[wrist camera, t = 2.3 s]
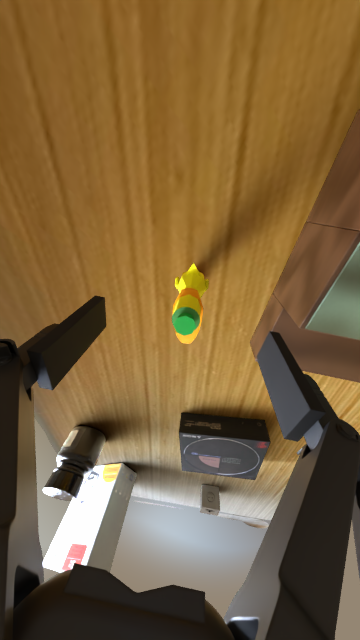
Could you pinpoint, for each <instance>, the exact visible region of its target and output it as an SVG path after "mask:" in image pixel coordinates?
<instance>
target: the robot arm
mask: <svg viewBox="0 0 360 640" xmlns="http://www.w3.org/2000/svg"><path fill="white" fill-rule="evenodd" d="M105 327H106V312H105V297H100V296H94V297H93V298H92V299H90V300H89V301H88V302H87V303H85V304H84V305H83V306H82V307H80V308H79V309H78V310H77V311H75V312H74V313H73V314H72V315H70V316H69V317H68V318H66V319H65V320H64V321H63V322H61V323H60V324H52V325H50V326H47V327H45V328H44V329H43V330H41V331H40V332H39V333H37V334H36V335H35V336H34V337H32V338H31V339H29V340H28V341H27V342H25V343H24V344H23V345H21V346H20V347H19V348H17V347H16V344H15V342H14V341H13V340H11V339H0V640H335V630H336V623H337V617H338V610H339V603H340V596H341V589H342V582H343V575H344V568H345V561H346V554H347V547H348V540H349V533H350V526H351V520H352V522H353V531H354V539H355V546H356V554H357V562H358V570H359V577H360V435H359V433H358V432H357V431H356V430H355V429H354V428H353V427H352V426H351V425H349V424H348V423H347V422H345V421H343V420H341V419H339V418H338V417H337V415H336V413H335V412H334V410H333V409H332V407H331V406H330V404H329V402H328V401H327V399H326V398H325V397H324V394H323V393H322V391H320V388H319V387H318V385H317V383H316V382H315V381H314V380H313V379H312V378H311V377H310V376H309V375H307V374H303V372H302V370H301V369H300V367H299V365H298V363H297V362H296V360H295V358H294V357H293V355H292V353H291V352H290V350H289V348H288V347H287V345H286V343H285V341H284V340H283V338H282V336H281V335H280V333H278V332H273V331H269V333H268V335H267V337H266V339H265V341H264V343H263V345H262V347H261V349H260V351H259V353H258V355H257V360H258V363H259V366H260V369H261V372H262V375H263V378H264V381H265V384H266V387H267V390H268V393H269V396H270V399H271V402H272V405H273V408H274V410H275V413H276V416H277V419H278V422H279V425H280V428H281V431H282V434H283V437H284V439H288V440H293V441H297V442H298V441H299V440H300V439H301V438H302V437H303V436H304V438H305V440H306V442H307V443H306V444H305V445H304V446H303V447H302V448H301V449H300V450H299V451H298V452H297V454H298V455H299V454H300V456H299V458H298V460H297V463H296V465H295V467H294V469H293V472H292V474H291V476H290V479H289V481H288V483H287V486H286V488H285V490H284V493H283V495H282V497H281V500H280V502H279V504H278V506H277V509H276V511H275V513H274V516H273V518H272V520H271V523H270V525H269V527H268V530H267V532H266V534H265V536H264V539H263V541H262V543H261V546H260V548H259V550H258V553H257V555H256V557H255V560H254V562H253V564H252V567H251V569H250V571H249V573H248V576H247V578H246V580H245V582H244V584H243V585H242V587H241V588H240V590H239V591H238V592H237V594H236V595H235V597H234V598H233V600H232V602H231V604H230V606H229V608H228V611H227V613H226V615H225V617H224V619H223V618H222V617H221V616H220V614H219V613H218V612H217V611H216V609H215V608H214V607H213V606H212V605H211V604H210V603H209V602H207V601H206V600H205V592H203V591H198V590H194V589H189V588H185V587H180V586H176V585H170V586H166V587H161V588H157V589H153V590H148V591H144V592H140V593H136V592H134V591H133V590H131V589H130V588H129V587H127V586H126V585H125V584H124V583H122V582H121V581H120V580H118V579H117V578H116V577H114V576H113V575H112V574H111V573H109V572H108V571H107V570H104V569H100V568H95V567H91V566H87V565H82V564H78V563H74V565H73V567H72V569H70V570H66V571H63V572H61V573H58V574H56V575H55V576H53V577H51V578H49V579H48V580H46V581H45V582H44V574H43V557H42V550H41V546H40V542H39V535H38V511H37V483H36V456H35V429H34V400H33V388H32V385H33V384H34V383H35V382H36V381H38V384H39V387H40V388H45V389H50V390H53V389H54V388H55V387H56V386H57V385H58V383H59V382H60V381H61V380H62V379H63V377H64V376H65V375H66V374H67V373H68V371H69V370H70V369H71V368H72V367H73V365H74V364H75V363H76V362H77V361H78V359H79V358H80V357H81V356H82V355H83V353H84V352H85V351H86V350H87V349H88V347H89V346H90V345H91V344H92V343H93V342H94V340H95V339H96V338H97V337H98V336H99V334H100V333H101V332H102V331H103V330H104V328H105Z"/></svg>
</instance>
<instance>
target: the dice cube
mask: <svg viewBox="0 0 360 640" xmlns="http://www.w3.org/2000/svg"><path fill="white" fill-rule="evenodd" d="M219 511H220V501H219V487H216V486H210V485H204V484H202V487H201V493H200V512H201V513H206V514H212V515H218V513H219Z"/></svg>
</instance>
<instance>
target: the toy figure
mask: <svg viewBox="0 0 360 640" xmlns="http://www.w3.org/2000/svg"><path fill="white" fill-rule="evenodd" d="M208 285H209V281H208V279H206V280H205V278H204V275H203V274H202V273H200V272H198V270H197V268H196V266H195V265H194V263H193V265H192V266H191V268H190V269H189V270H188V271H187V272H184V273H183V275H182V277H181V279H180V281H179V277H176V279H175V286H176V288H177V289H178V290H179V292H180V293H179V295H178V297H177V299H176V301H175V303H174V305H173V316H172V323H173V325H174V329H175V332H176V335H177V337H178V339H179V340H180V341H181V343H189V344H190V343H191V342H192V341H193V340H194V339H195V337H196V336H197V334H198V332H199V329H200V325H201V321H202V315H203V306H202V303H201V300H200V298H201V297H202V295H203V294H204V292H205V291H206V290H207V289H208Z"/></svg>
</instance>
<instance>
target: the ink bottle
mask: <svg viewBox="0 0 360 640" xmlns="http://www.w3.org/2000/svg"><path fill="white" fill-rule="evenodd" d="M105 442H106V439H105V436H104V435H103V434H102V433H101V432H100V431H98V430H96V429H94V428H91V427H86V426H77V427H75V428H74V429H73V430H72V432H71V433H70V435H69V437H68V438H67V440H66V441H65V443H64V445H63V447H62V448H61V450H60V452H59V453H58V455H57V463H58V467H57V468H56V469H55V470H54V471H53V473H52V475H51V477H50V478H49V480H48V482H47V484H46V485H45V487H44V489H43V491H44V492H45V493H46V494H48V495H49V496H52V497H54V498H57V499H60V500H65V501H74V500H75V499H76V497H77V495H78V492H79V490H80V488H81V486H82V483H83V481H84V476H85V475H87V473H90V472H91V471H92V470H93V469H94V467H95V465H96V463H97V461H98V458H99V456H100V454H101V451H102V449H103V447H104V444H105Z"/></svg>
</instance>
